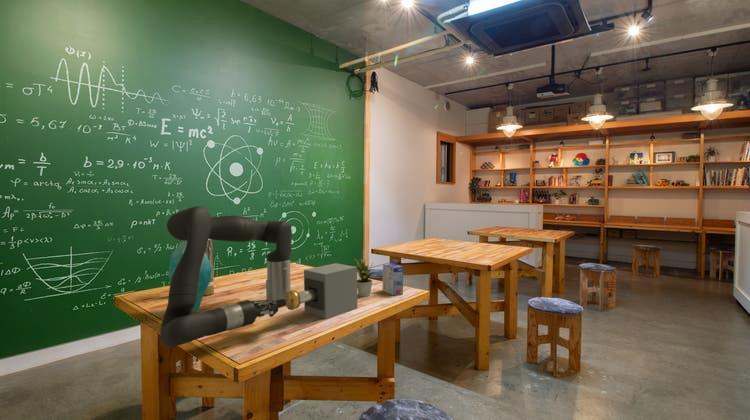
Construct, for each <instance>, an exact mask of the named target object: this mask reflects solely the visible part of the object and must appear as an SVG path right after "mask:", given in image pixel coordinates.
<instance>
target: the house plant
mask: <svg viewBox="0 0 750 420" xmlns="http://www.w3.org/2000/svg"><path fill="white" fill-rule="evenodd" d="M354 260H355V262H357V265H356V264H354V263H353V266H354V267H357V276H358V279H357V296H359V297H365V298H366V297H370V296H371V294H372V293H371V292H372V286H373V280H372V279H371V278H372V277H373V276H377V275H378V274H377V273H376V272H373V271H372V267H373V264H374V262H371V265H370V267H369V264H368V265H366V261H367V259H365V260H363V259H362V258H361V259H360V262H359V260H357V259H356V258H354ZM348 263H350V264H349V266H352V263H351V262H349V261H348ZM375 265H377V263H375V264H374V266H375ZM371 271H372V272H371ZM375 273H376V274H375ZM372 274H373V275H372Z"/></svg>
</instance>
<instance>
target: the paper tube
mask: <svg viewBox="0 0 750 420" xmlns="http://www.w3.org/2000/svg"><path fill="white" fill-rule="evenodd" d="M213 247H214V246H213V240H212V239H208V242H207V246H206V250H205V254H206V256H207V258H208V259H209V261H210V266H211V278H210V282H209V284H208V287H207V289H206V291H205V294H204V295H208V296H211V295H213V294H214V293H215V278H214V253H213V252H214V251H213ZM210 294H211V295H210Z"/></svg>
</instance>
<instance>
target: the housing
mask: <svg viewBox="0 0 750 420" xmlns="http://www.w3.org/2000/svg"><path fill="white" fill-rule="evenodd" d="M354 266H355V265H353V266H352V265H346V264H342V263H336V262H335V263H331V264H326V265H321V266H317V267H316V266H315V267H311V268H307V269H306V268H305V269H303V279H304V278H307V279H311V280H316V281H320V282H323V285H324V310H323V311H322V310H319V309H315V308H312V307H309V306H306V305H305V304H304V313H306V314H310V315H313V316H315V317H318V318H322V319H324V320H327V319H330V318H333V317H336V316H339V315H341V314H345V313H347V312H351V311H353V310H357V309H358V289H357V280H358V275H357V274H358V273H357V270H358V268H357V266H355V267H354ZM310 289H313V288H312V287H310ZM315 301H317V299H315Z"/></svg>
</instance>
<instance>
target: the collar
mask: <svg viewBox="0 0 750 420" xmlns="http://www.w3.org/2000/svg"><path fill="white" fill-rule="evenodd" d="M303 285H304V286H303V289H304V290H303V291H305V290H309V289H310V287H312V288H316V289H317V301H315V300H312V301H308V302H305V303H304V306H305V305H306V306H309V307H312V308H315V309H319V310H322V311H323V310H324V285H323V282H320V281H316V280H311V279H307V278H304V277H303Z"/></svg>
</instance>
